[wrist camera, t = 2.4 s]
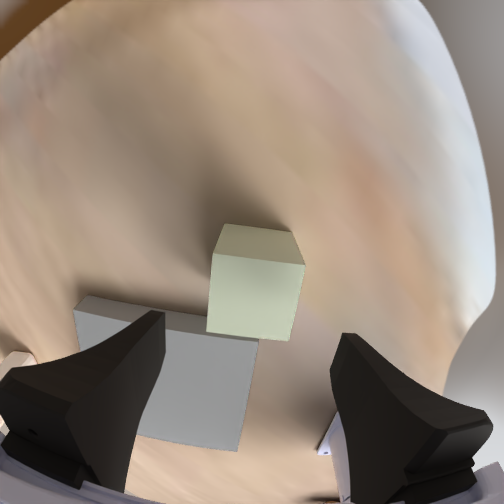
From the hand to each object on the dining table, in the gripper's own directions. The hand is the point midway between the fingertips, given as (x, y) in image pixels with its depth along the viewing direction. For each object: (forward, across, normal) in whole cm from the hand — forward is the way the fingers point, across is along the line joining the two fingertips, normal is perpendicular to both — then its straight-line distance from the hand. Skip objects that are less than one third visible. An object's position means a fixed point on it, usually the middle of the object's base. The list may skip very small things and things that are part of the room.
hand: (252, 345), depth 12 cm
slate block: (+10, +6, +12) cm, 17 cm away
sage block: (+10, 0, 0) cm, 10 cm away
